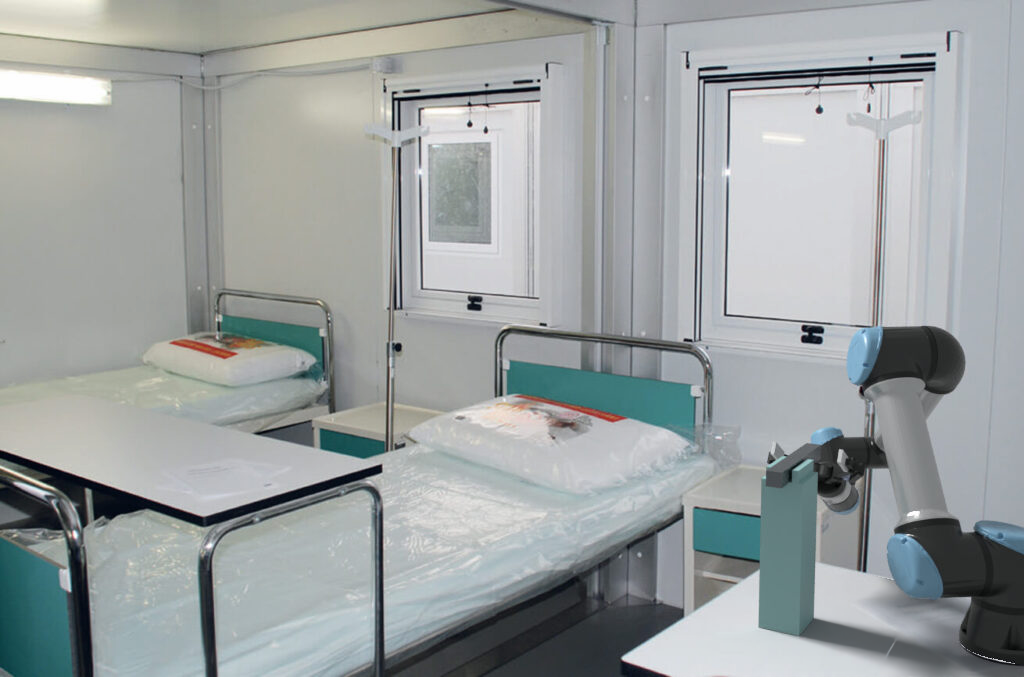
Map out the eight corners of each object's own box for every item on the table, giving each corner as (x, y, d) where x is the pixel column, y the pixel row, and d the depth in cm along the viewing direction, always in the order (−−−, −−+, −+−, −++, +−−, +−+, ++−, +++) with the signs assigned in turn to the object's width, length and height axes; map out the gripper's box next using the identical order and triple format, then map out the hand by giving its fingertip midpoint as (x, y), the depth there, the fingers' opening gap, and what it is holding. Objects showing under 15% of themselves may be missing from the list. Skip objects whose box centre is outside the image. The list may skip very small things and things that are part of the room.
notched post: (774, 609, 204) (778, 455, 200) (813, 618, 199) (818, 460, 195) (758, 627, 195) (761, 466, 191) (798, 636, 191) (803, 471, 187)
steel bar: (806, 457, 208) (806, 443, 207) (820, 458, 206) (821, 444, 206) (765, 486, 186) (766, 470, 186) (781, 488, 184) (781, 472, 184)
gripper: (885, 506, 212) (866, 477, 195) (771, 490, 225) (743, 461, 209) (890, 473, 214) (872, 441, 197) (777, 459, 228) (750, 428, 211)
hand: (806, 451), depth 203 cm, fingers open, 13 cm apart
